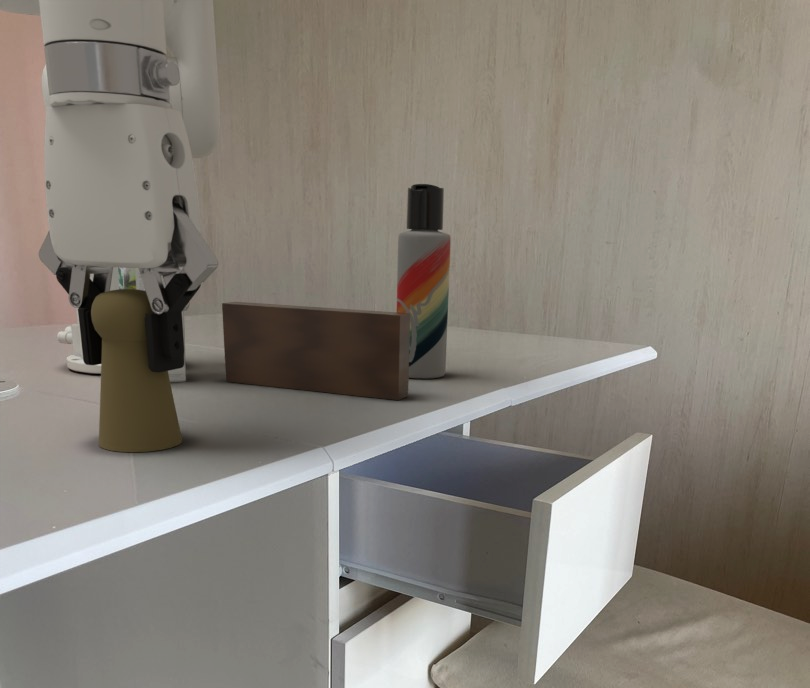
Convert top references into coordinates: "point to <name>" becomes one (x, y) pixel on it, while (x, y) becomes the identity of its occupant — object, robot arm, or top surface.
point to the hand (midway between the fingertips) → (134, 363)
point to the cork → (131, 378)
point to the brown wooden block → (317, 349)
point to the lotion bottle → (425, 280)
